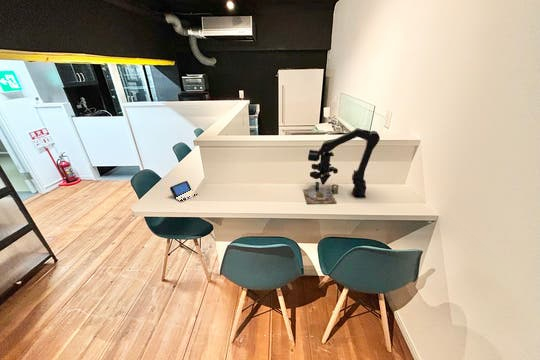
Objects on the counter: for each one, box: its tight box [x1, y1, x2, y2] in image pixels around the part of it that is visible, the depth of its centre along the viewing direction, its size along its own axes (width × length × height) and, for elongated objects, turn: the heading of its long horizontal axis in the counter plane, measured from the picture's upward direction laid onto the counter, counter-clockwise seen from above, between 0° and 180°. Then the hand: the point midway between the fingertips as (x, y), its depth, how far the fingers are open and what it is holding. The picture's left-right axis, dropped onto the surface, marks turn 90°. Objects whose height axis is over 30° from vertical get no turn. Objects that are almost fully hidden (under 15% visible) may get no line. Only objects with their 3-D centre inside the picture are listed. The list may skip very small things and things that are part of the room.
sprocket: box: [305, 181, 334, 201], centre depth 129 cm, size 16×15×6 cm
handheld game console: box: [169, 180, 195, 202], centre depth 134 cm, size 12×11×7 cm
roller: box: [330, 183, 339, 195], centre depth 134 cm, size 4×4×5 cm
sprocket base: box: [302, 188, 337, 205], centre depth 131 cm, size 17×17×1 cm
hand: (322, 184), depth 137 cm, fingers closed
